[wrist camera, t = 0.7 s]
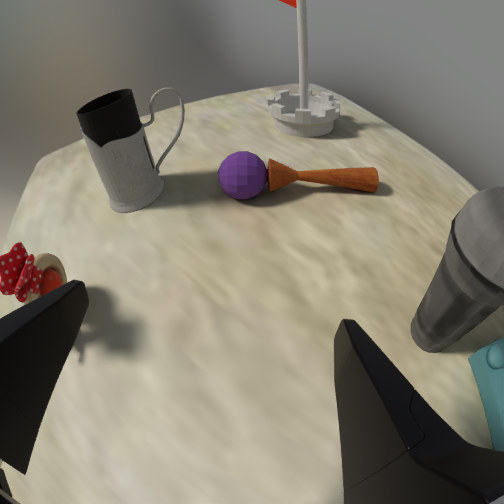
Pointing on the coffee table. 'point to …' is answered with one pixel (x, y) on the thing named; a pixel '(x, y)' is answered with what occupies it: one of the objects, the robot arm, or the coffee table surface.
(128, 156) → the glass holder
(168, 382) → the coffee table surface
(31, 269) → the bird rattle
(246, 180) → the kendama
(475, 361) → the base brick
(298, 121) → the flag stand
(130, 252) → the coffee table surface
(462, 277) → the beverage cup
